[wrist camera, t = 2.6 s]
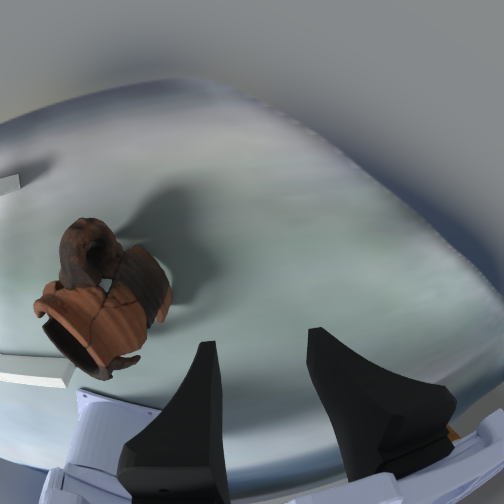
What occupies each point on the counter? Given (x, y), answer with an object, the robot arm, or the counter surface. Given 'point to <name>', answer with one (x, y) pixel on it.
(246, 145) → the counter surface
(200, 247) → the counter surface
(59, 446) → the counter surface
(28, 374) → the u-shaped white bracket
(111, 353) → the pottery mug
